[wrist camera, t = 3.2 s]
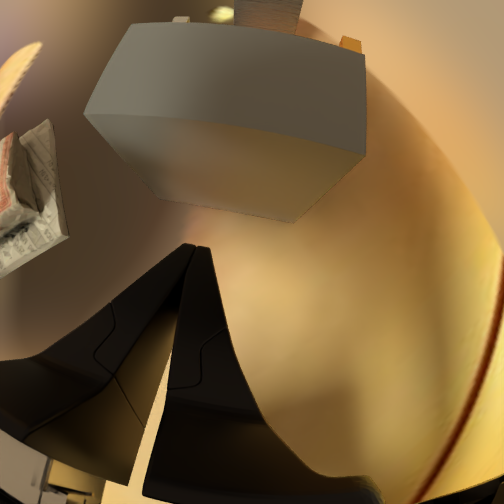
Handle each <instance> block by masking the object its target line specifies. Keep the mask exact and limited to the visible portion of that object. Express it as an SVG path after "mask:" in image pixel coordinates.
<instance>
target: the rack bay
mask: <svg viewBox="0 0 504 504" xmlns="http://www.w3.org/2000/svg"><path fill="white" fill-rule="evenodd" d="M302 4H303V0H234V26H242V27H250V28H257V29H264V30H270V31H276V32H281V33H286V34H291V35H294V34H295V30H296V27H297V23H298V19H299V15H300V11H301V7H302ZM172 22H185V23H190V19H189V17H175V18H174V19H173V21H172ZM339 47H342V48H345V49H349V50H352V51H355V52H358V53H361V54H362V50H361V41H358V40H355V39H352V38H349V37H346V36H343V37H342V39H341V41H340V44H339Z"/></svg>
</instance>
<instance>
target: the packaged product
mask: <svg viewBox="0 0 504 504" xmlns="http://www.w3.org/2000/svg"><path fill="white" fill-rule="evenodd" d="M69 237H70V235H69V231H68V226H67V221H66V217H65V211H64V206H63V201H62V195H61V188H60V182H59V173H58V165H57V155H56V144H55V134H54V125H53V124H52V123H51V121H50V120H49V119H46V120H45V121H44V122H43V123H41V124H40V125H38V126H37V127H36V128H34V129H32V130H29V131H28V132H27V133H26V134H24V135H23V136H21V137H20V138H19V137H18V134H17V133H16V132H12V133H11V134H9V135H8V136H7V137H5V138H3V139H2V140H1V141H0V279H1V278H3V277H4V276H6V275H7V274H9V273H10V272H11V271H13V270H15V269H16V268H18V267H19V266H21V265H23V264H24V263H26V262H27V261H29V260H31V259H33V258H34V257H36V256H37V255H39V254H41V253H43V252H44V251H46V250H48V249H49V248H51V247H53V246H55V245H56V244H58V243H60V242H61V241H63V240H65V239H67V238H69Z"/></svg>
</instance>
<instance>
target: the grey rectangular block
mask: <svg viewBox="0 0 504 504" xmlns="http://www.w3.org/2000/svg"><path fill="white" fill-rule="evenodd" d="M83 114H84V116H85V117H86V118H87V119H88V120H89V121H90V123H91V124H92V125H93V126H94V127H95V128H96V129H97V131H98V132H99V133H100V134H101V135H102V136H103V137H104V139H105V140H106V141H107V142H108V143H109V144H110V145H111V146H112V148H113V149H114V150H115V151H116V152H117V153H118V154H119V155H120V156H121V158H122V159H123V160H124V161H125V162H126V163H127V164H128V165H129V166H130V168H131V169H132V170H133V171H134V172H135V173H136V174H137V175H138V176H139V177H140V178H141V180H142V181H143V182H144V183H145V184H146V185H147V186H148V187H149V188H150V189H151V191H152V192H153V193H154V194H155V195H156V196H157V197H158V198H159V199H160V200H167V201H173V202H179V203H185V204H191V205H197V206H203V207H209V208H215V209H220V210H226V211H231V212H237V213H242V214H248V215H253V216H259V217H264V218H269V219H274V220H279V221H284V222H289V223H295V222H296V221H297V220H298V219H299V218H300V217H301V216H302V215H303V214H304V213H305V212H306V211H307V210H308V209H309V208H311V207H312V206H313V205H314V204H315V203H316V202H317V201H318V200H319V199H320V198H321V197H322V196H323V195H324V194H325V193H327V192H328V191H329V190H330V189H331V188H332V187H333V186H334V185H335V184H336V183H337V182H338V181H339V180H340V179H341V178H342V177H344V176H345V175H346V174H347V173H348V172H349V171H350V170H351V169H352V168H353V167H354V166H355V165H356V164H357V163H358V162H359V161H360V160H361V159H363V158H364V157H365V156H366V68H365V55H364V54H361V53H358V52H355V51H352V50H349V49H345V48H342V47H339V46H335V45H332V44H328V43H325V42H321V41H317V40H313V39H309V38H305V37H300V36H296V35H291V34H286V33H281V32H276V31H270V30H264V29H257V28H250V27H242V26H234V25H223V24H210V23H209V24H208V23H185V22H167V23H165V22H164V23H140V24H131V26H130V27H129V29H128V30H127V32H126V34H125V35H124V37H123V39H122V40H121V42H120V43H119V45H118V47H117V48H116V50H115V52H114V53H113V55H112V57H111V59H110V61H109V63H108V64H107V66H106V68H105V70H104V72H103V73H102V75H101V77H100V79H99V81H98V83H97V85H96V87H95V90H94V91H93V93H92V96H91V98H90V100H89V102H88V104H87V106H86V109H85V111H84V113H83Z"/></svg>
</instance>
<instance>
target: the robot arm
mask: <svg viewBox="0 0 504 504" xmlns="http://www.w3.org/2000/svg"><path fill="white" fill-rule="evenodd" d="M171 350H172V355H171V362H170V369H169V377H168V384H167V393H166V400H165V406H164V411H163V414H162V418H161V421H160V425H159V428H158V432H157V435H156V439H155V442H154V446H153V450H152V453H151V457H150V460H149V464H148V468H147V472H146V475H145V479H144V483H143V490H142V495H143V496H145V497H148V498H152V499H155V500H159V501H163V502H168V503H172V504H385V500H384V497H383V495H382V493H381V491H380V490H379V489H378V487H377V486H376V484H375V483H374V482H373V480H372V479H371V478H370V477H369V476H346V477H327V476H324V475H320V474H318V473H316V472H314V471H313V470H312V469H310V468H309V467H308V466H307V465H306V464H305V463H304V462H303V461H302V460H301V459H300V458H299V457H298V456H297V455H296V454H295V453H294V452H293V451H292V450H291V449H290V448H289V447H288V446H287V444H286V443H285V442H284V441H283V440H282V439H281V438H280V437H279V436H278V435H277V434H276V433H275V431H274V430H273V429H272V428H271V427H270V426H269V424H268V423H267V421H266V420H265V418H264V417H263V415H262V413H261V411H260V409H259V407H258V405H257V403H256V401H255V399H254V397H253V394H252V392H251V390H250V388H249V385H248V383H247V381H246V379H245V376H244V374H243V372H242V370H241V367H240V364H239V362H238V359H237V357H236V354H235V351H234V347H233V344H232V340H231V336H230V332H229V329H228V325H227V321H226V316H225V312H224V308H223V304H222V299H221V295H220V291H219V286H218V282H217V277H216V273H215V268H214V264H213V259H212V254H211V250H210V248H209V247H204V246H197V247H196V245H193V244H187V243H184V244H182V245H181V246H179V247H178V248H177V249H176V250H174V251H173V252H172V253H170V254H169V255H168V256H166V257H165V258H164V259H163V260H161V261H160V262H159V263H158V264H156V265H155V266H154V267H152V268H151V269H150V270H149V271H148V272H146V273H145V274H144V275H143V276H141V277H140V278H139V279H138V280H136V281H135V282H134V283H133V284H131V285H130V286H129V287H128V288H126V289H125V290H124V291H123V292H121V293H120V294H119V295H118V296H117V297H115V298H114V299H113V300H112V301H111V303H108V304H107V305H106V306H105V307H103V308H102V309H101V310H100V311H98V312H97V313H96V314H95V315H93V316H92V317H91V318H90V319H88V320H87V321H85V322H84V323H83V324H81V325H80V326H79V327H77V328H76V329H74V330H73V331H71V332H70V333H68V334H67V335H66V336H64V337H63V338H61V339H60V340H58V341H57V342H56V343H54V344H53V345H51V346H50V347H48V348H47V349H46V350H44V351H42V352H41V353H39V354H37V355H35V356H32V357H29V358H24V359H15V360H5V361H0V504H101V502H102V497H103V492H104V488H105V484H106V480H108V481H111V482H114V483H118V484H121V485H125V486H128V483H129V480H130V477H131V473H132V470H133V466H134V463H135V460H136V456H137V453H138V450H139V447H140V443H141V440H142V437H143V434H144V431H145V429H144V428H145V427H146V424H147V421H148V418H149V415H150V412H151V409H152V406H153V403H154V400H155V397H156V394H157V391H158V388H159V385H160V382H161V379H162V376H163V373H164V370H165V367H166V365H167V362H168V359H169V356H170V353H171ZM416 504H504V474H501V475H499V476H497V477H494V478H492V479H490V480H487V481H485V482H482V483H479V484H477V485H474V486H471V487H468V488H466V489H463V490H460V491H456V492H453V493H450V494H447V495H443V496H440V497H436V498H433V499H430V500H426V501H423V502H419V503H416Z"/></svg>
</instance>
